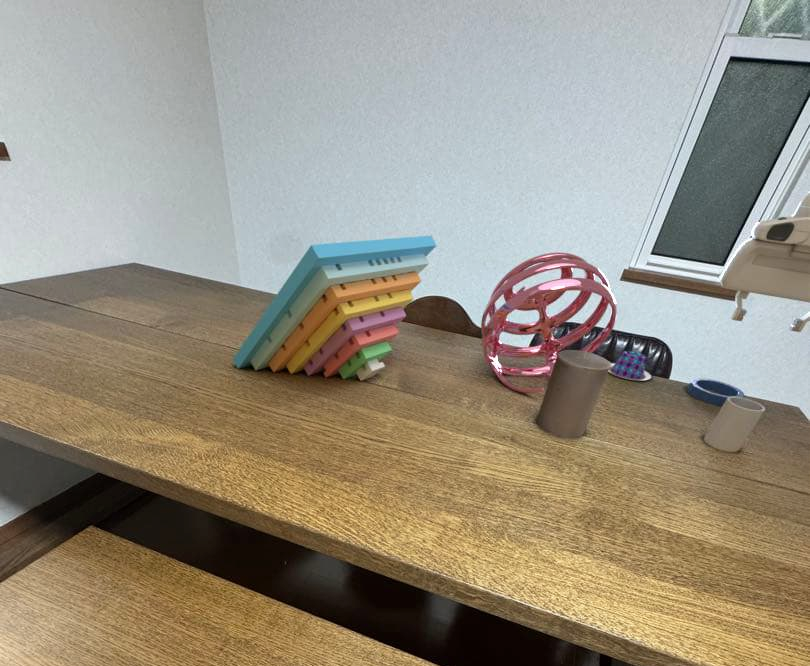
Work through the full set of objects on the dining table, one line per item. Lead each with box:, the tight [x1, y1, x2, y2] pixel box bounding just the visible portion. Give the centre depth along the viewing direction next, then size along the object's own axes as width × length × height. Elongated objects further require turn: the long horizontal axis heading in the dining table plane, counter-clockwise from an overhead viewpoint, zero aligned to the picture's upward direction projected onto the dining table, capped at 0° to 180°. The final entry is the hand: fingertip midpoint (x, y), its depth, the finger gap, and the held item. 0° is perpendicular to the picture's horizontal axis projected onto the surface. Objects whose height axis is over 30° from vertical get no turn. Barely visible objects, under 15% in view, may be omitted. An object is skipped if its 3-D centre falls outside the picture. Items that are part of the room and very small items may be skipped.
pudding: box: [608, 350, 652, 382], centre depth 118 cm, size 12×12×5 cm
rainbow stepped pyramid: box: [232, 235, 437, 382], centre depth 97 cm, size 35×18×35 cm
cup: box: [703, 397, 766, 453], centre depth 88 cm, size 6×6×9 cm
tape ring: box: [686, 377, 745, 407], centre depth 112 cm, size 12×12×2 cm
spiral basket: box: [480, 251, 618, 394], centre depth 98 cm, size 28×28×27 cm
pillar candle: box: [535, 349, 612, 439], centre depth 85 cm, size 10×10×15 cm
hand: (764, 325), depth 81 cm, fingers open, 8 cm apart
